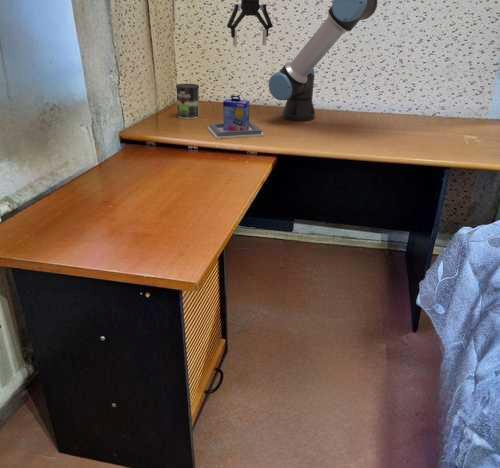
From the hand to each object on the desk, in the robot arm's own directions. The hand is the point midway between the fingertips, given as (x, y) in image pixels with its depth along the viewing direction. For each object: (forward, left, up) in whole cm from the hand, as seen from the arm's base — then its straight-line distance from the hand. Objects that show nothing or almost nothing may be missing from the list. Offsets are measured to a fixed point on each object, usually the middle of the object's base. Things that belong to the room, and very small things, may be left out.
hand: (249, 45), depth 211 cm
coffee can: (+27, -6, -31) cm, 42 cm away
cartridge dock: (+13, +26, -31) cm, 43 cm away
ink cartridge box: (+13, +26, -31) cm, 42 cm away
